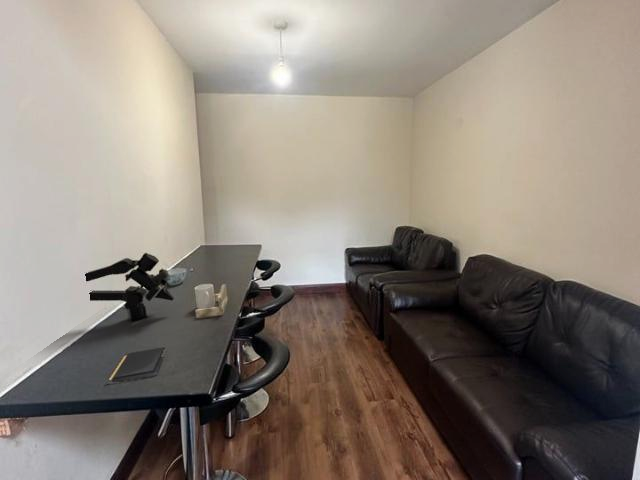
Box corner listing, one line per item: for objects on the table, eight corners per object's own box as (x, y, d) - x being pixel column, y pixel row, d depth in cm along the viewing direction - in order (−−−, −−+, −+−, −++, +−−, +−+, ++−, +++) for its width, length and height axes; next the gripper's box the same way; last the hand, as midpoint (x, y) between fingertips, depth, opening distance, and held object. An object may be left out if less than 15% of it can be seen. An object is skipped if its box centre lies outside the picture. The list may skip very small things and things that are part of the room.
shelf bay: (196, 318, 148) (193, 301, 147) (203, 302, 168) (201, 286, 167) (223, 314, 150) (221, 297, 149) (227, 299, 170) (225, 284, 169)
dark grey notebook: (155, 373, 103) (100, 382, 100) (156, 378, 103) (101, 388, 101) (169, 343, 123) (124, 351, 120) (170, 348, 123) (125, 356, 120)
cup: (213, 302, 167) (210, 282, 165) (219, 309, 157) (216, 288, 155) (196, 306, 163) (193, 286, 162) (200, 314, 153) (197, 292, 151)
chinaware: (163, 282, 212) (161, 270, 211) (188, 278, 216) (187, 267, 215) (159, 289, 198) (157, 276, 197) (187, 284, 202) (185, 272, 201)
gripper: (149, 270, 143) (180, 292, 147) (161, 261, 161) (188, 280, 165) (132, 290, 143) (163, 311, 146) (145, 278, 161) (173, 298, 164)
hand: (173, 299), depth 155 cm, fingers closed
